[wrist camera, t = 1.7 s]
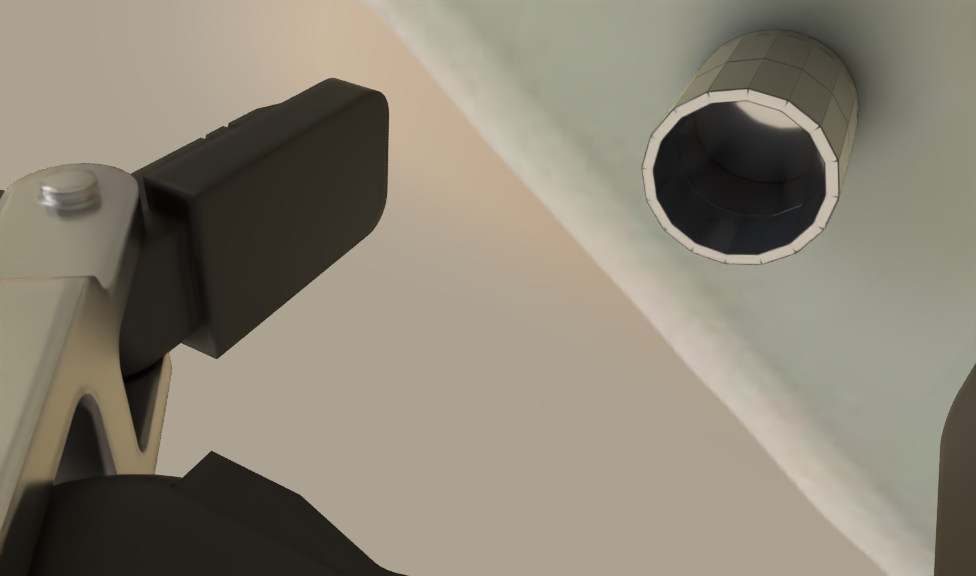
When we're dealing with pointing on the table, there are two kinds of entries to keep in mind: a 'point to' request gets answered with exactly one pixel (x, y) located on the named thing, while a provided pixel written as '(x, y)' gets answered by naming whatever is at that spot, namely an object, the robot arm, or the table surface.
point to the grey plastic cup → (754, 149)
